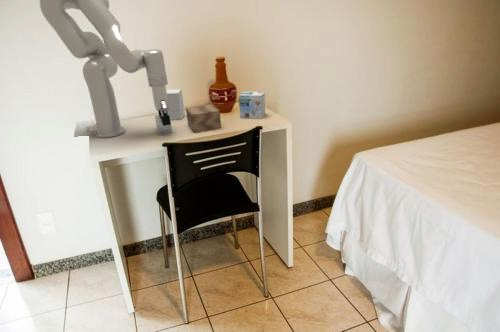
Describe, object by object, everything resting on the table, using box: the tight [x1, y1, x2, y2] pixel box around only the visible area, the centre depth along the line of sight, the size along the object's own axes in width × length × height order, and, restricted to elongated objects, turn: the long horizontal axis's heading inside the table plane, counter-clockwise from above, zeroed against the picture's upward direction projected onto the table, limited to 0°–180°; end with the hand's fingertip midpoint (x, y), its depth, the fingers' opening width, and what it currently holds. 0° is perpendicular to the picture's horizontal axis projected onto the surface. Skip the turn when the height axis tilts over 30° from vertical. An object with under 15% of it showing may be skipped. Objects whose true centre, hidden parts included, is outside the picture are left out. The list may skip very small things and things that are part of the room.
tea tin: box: [154, 114, 173, 136], centre depth 168 cm, size 6×6×7 cm
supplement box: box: [166, 88, 186, 121], centre depth 185 cm, size 7×7×13 cm
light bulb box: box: [238, 91, 266, 120], centre depth 181 cm, size 11×7×11 cm, turn 73°
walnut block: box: [185, 103, 222, 134], centre depth 172 cm, size 12×12×8 cm
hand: (165, 121), depth 167 cm, fingers open, 9 cm apart
